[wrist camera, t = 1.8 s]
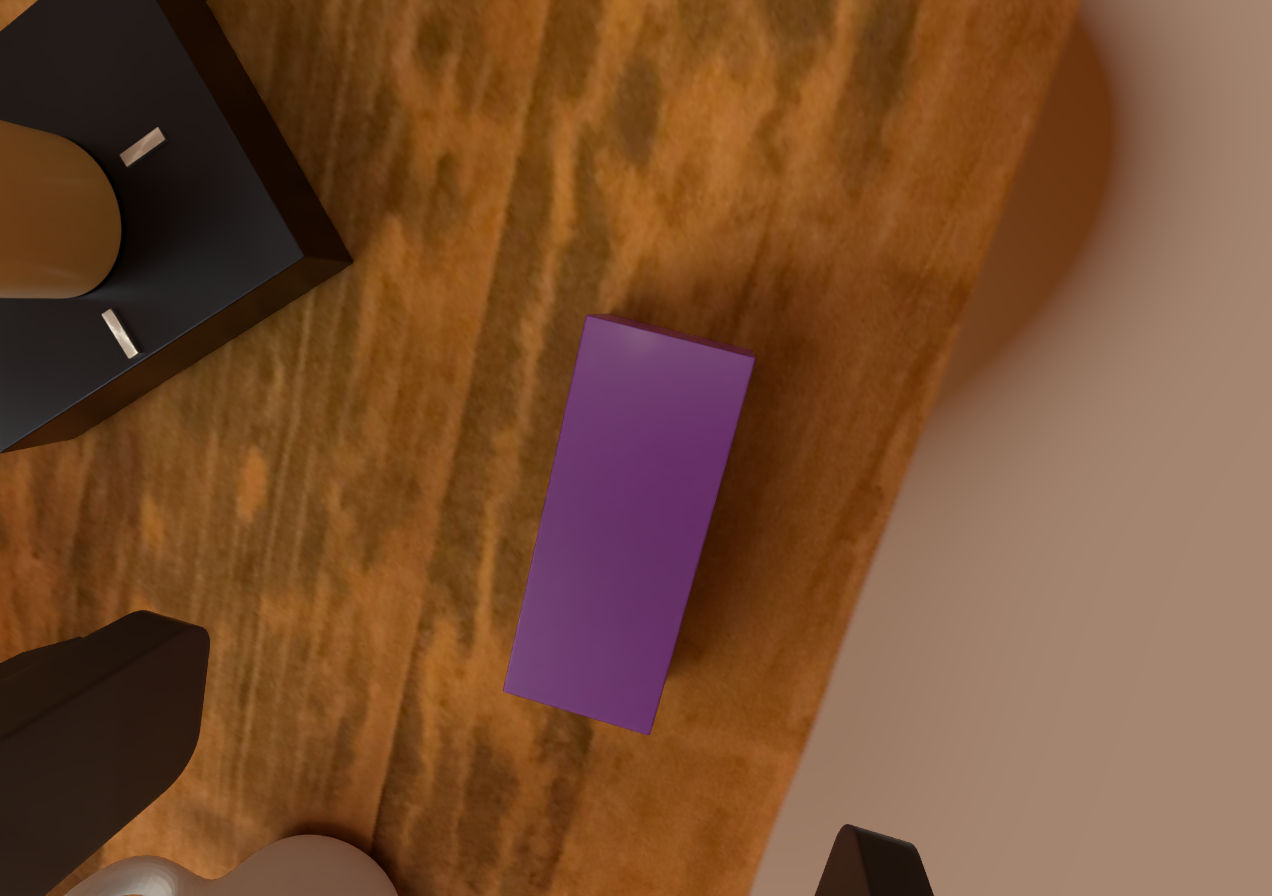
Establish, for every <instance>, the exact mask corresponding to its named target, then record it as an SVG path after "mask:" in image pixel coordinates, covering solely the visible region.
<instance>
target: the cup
mask: <svg viewBox="0 0 1272 896" xmlns="http://www.w3.org/2000/svg"><path fill="white" fill-rule="evenodd" d="M128 894H141V895H144V896H398V894H397V892H396V890H395V887H394V886H393V884H392V882H391V881H390V879H389V878H388V876H387V874H386V873H385V872H384V871H383V870H382V868H381V867H380V866H379V865H378V864H377V863H376V862H375V861H374V860H373V859H372V858H370V857H369V856H368V855H367V854H365V853H364V852H363V851H361V850H359V849H357V848H356V847H354V846H352V845H350V844H348V843H346V842H343V841H341V840H338V839H335V838H331V837H327V836H321V835H297V836H292V837H288V838H284V839H281V840H278V841H276V842H273V843H271V844H269V845H267V846H265V847H263V848H262V849H260V850H258V851H257V852H255V853H254V854H253V855H251V856H250V857H249V858H247V859H246V860H244V861H243V862H242V863H241V864H240V865H238V866H237V867H236V868H235V869H233V870H232V871H231V872H229V873H228V874H227V875H225V876H224V877H222V878H219V879H214V880H210V879H205V878H202V877H200V876H198V875H196V874H194V873H193V872H191V871H189V870H188V869H186V868H184V867H183V866H181V865H179V864H177V863H175V862H173V861H170V860H168V859H166V858H162V857H158V856H148V855H145V856H134V857H130V858H126V859H123V860H120V861H118V862H116V863H113V864H111V865H109V866H107V867H105V868H103V869H101V870H99V871H98V872H96V873H94V874H92V875H91V876H89V877H88V878H87V879H85V880H84V881H82V882H81V883H79V884H78V885H76V886H75V887H74V888H73V889H71V890H70V891H69V892H68V893H67V894H65V895H64V896H122V895H128Z"/></svg>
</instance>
